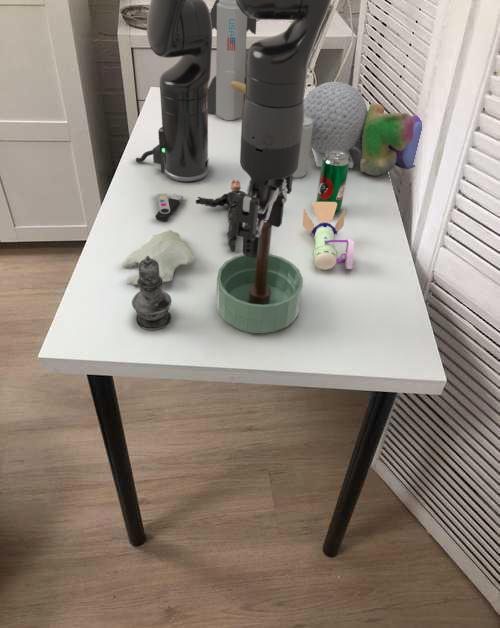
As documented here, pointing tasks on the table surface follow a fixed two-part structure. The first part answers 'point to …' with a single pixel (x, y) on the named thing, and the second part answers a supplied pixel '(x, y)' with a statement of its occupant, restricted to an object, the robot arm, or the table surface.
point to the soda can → (333, 177)
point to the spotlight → (327, 236)
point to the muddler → (262, 269)
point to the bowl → (256, 317)
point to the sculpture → (383, 139)
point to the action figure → (231, 202)
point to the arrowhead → (162, 255)
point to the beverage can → (304, 148)
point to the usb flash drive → (167, 205)
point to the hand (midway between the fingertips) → (262, 239)
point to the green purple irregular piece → (408, 147)
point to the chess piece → (151, 297)
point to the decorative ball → (335, 116)
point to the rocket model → (229, 59)
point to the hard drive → (319, 156)
